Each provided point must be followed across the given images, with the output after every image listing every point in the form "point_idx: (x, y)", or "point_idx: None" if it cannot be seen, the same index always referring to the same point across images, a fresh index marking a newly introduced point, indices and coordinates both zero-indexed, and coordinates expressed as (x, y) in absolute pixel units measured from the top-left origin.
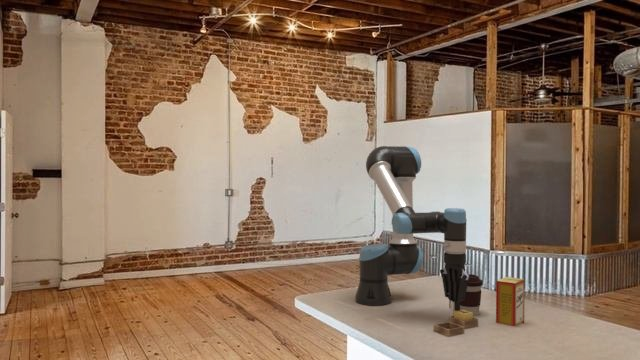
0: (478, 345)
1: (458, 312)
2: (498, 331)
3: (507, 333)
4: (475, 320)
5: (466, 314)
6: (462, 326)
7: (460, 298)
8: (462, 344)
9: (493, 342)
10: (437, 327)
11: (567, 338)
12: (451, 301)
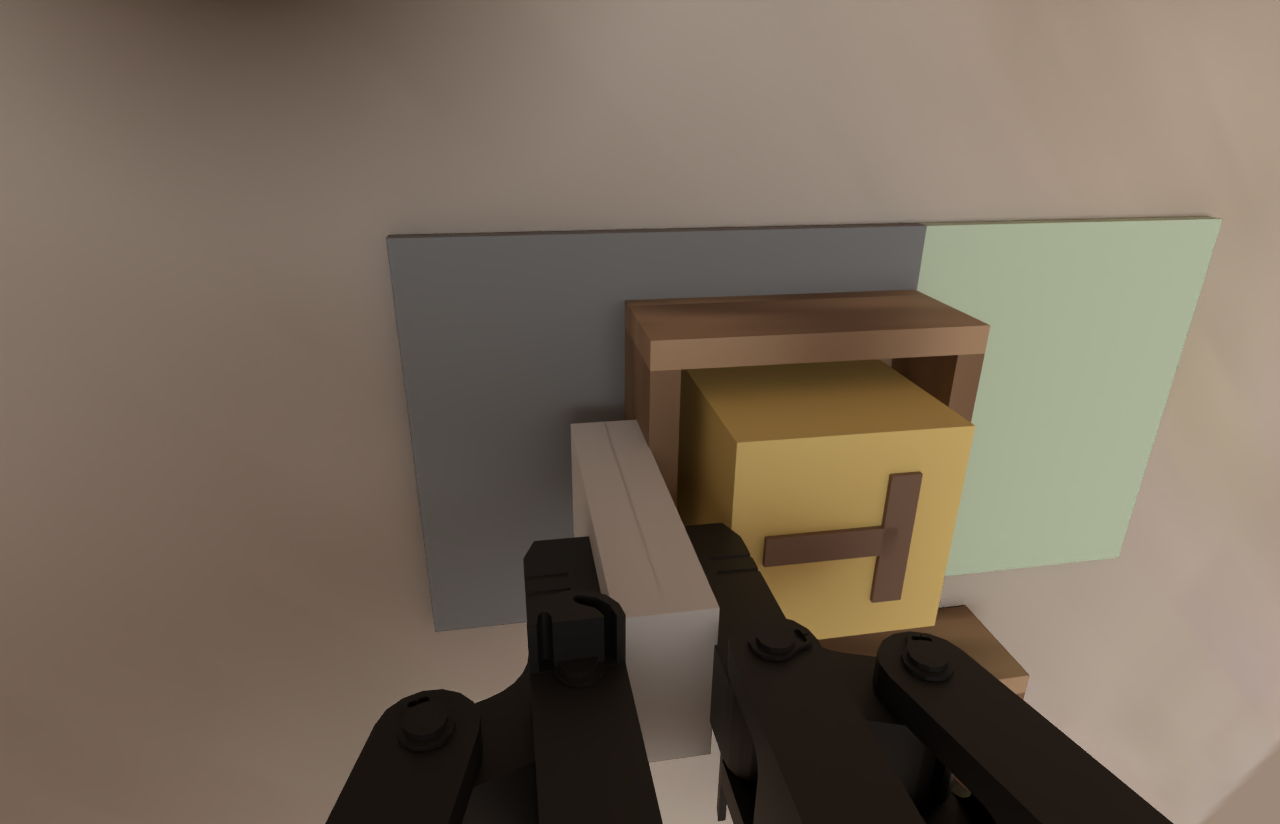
0: (1187, 643)
1: (816, 624)
2: (1137, 112)
3: (1258, 70)
4: (968, 382)
5: (940, 555)
6: (1003, 681)
7: (962, 800)
8: (1080, 736)
9: (1254, 477)
10: None
11: None
12: (649, 752)
